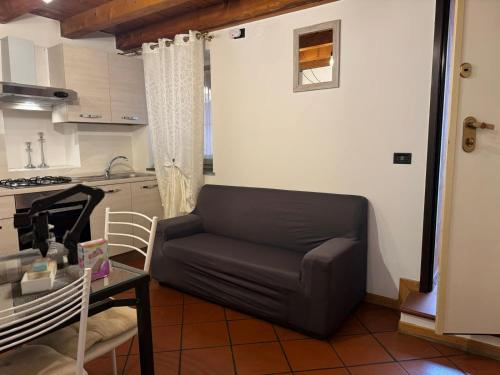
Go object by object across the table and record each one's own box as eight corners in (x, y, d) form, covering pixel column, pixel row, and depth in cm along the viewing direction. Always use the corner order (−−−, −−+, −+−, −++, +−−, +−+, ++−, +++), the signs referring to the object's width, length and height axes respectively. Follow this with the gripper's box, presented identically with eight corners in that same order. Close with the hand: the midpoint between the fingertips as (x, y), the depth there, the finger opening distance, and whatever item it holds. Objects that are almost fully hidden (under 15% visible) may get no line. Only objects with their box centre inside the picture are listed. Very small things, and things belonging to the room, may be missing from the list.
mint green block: (48, 266, 152) (47, 261, 151) (47, 270, 147) (46, 264, 147) (35, 268, 150) (34, 262, 149) (33, 272, 145) (32, 266, 145)
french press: (62, 250, 186) (58, 205, 182) (41, 257, 176) (36, 209, 172) (50, 248, 190) (46, 204, 186) (29, 254, 180) (24, 208, 176)
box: (54, 279, 147) (53, 268, 146) (51, 289, 137) (50, 277, 137) (26, 284, 143) (25, 272, 142) (22, 294, 133) (20, 282, 132)
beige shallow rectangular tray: (57, 267, 161) (56, 259, 161) (54, 279, 147) (53, 270, 147) (32, 270, 157) (31, 262, 157) (26, 283, 143) (25, 274, 142)
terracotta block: (49, 261, 157) (49, 256, 157) (48, 265, 153) (48, 260, 152) (37, 263, 155) (36, 258, 155) (35, 267, 151) (34, 262, 150)
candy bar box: (85, 284, 142) (81, 246, 139) (79, 281, 145) (76, 243, 143) (110, 275, 150) (107, 239, 148) (104, 273, 153) (102, 237, 151)
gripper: (23, 223, 163) (27, 254, 165) (16, 232, 146) (20, 267, 149) (50, 220, 168) (53, 251, 170) (46, 229, 151) (50, 263, 153)
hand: (44, 258), depth 160 cm, fingers closed
